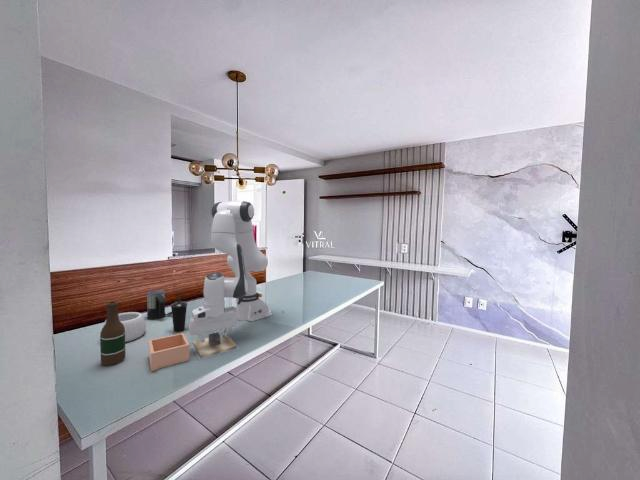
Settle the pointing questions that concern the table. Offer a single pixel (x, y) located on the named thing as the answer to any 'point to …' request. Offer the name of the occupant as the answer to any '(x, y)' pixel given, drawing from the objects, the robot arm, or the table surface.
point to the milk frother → (156, 304)
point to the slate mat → (210, 355)
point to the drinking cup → (179, 314)
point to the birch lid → (214, 345)
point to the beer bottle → (112, 337)
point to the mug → (132, 325)
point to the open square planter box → (168, 351)
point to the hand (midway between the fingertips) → (213, 339)
